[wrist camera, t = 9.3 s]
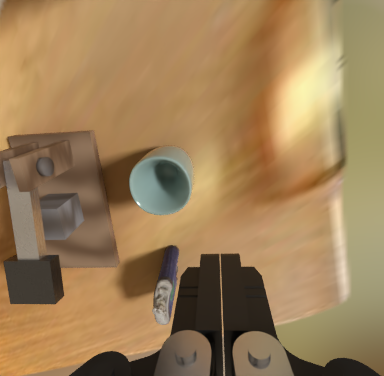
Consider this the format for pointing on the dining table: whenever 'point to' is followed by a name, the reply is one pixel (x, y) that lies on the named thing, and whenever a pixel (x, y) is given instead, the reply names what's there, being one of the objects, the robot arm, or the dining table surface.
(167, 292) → the flask
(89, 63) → the dining table surface
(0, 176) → the frame
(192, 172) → the cup
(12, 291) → the lever
